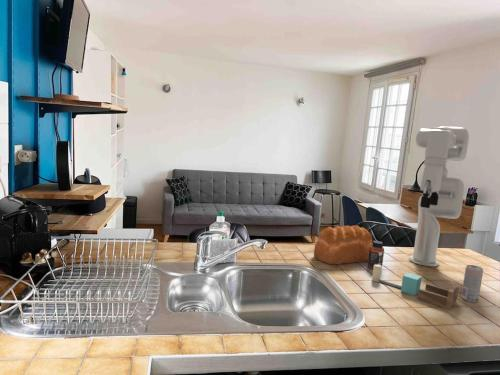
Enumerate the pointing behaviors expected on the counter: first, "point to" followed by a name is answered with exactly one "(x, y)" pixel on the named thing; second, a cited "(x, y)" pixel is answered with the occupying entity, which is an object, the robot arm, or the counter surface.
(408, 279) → the teal block with rod
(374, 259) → the supplement bottle
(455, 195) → the robot arm
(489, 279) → the counter surface
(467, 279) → the energy drink
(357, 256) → the bread
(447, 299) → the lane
